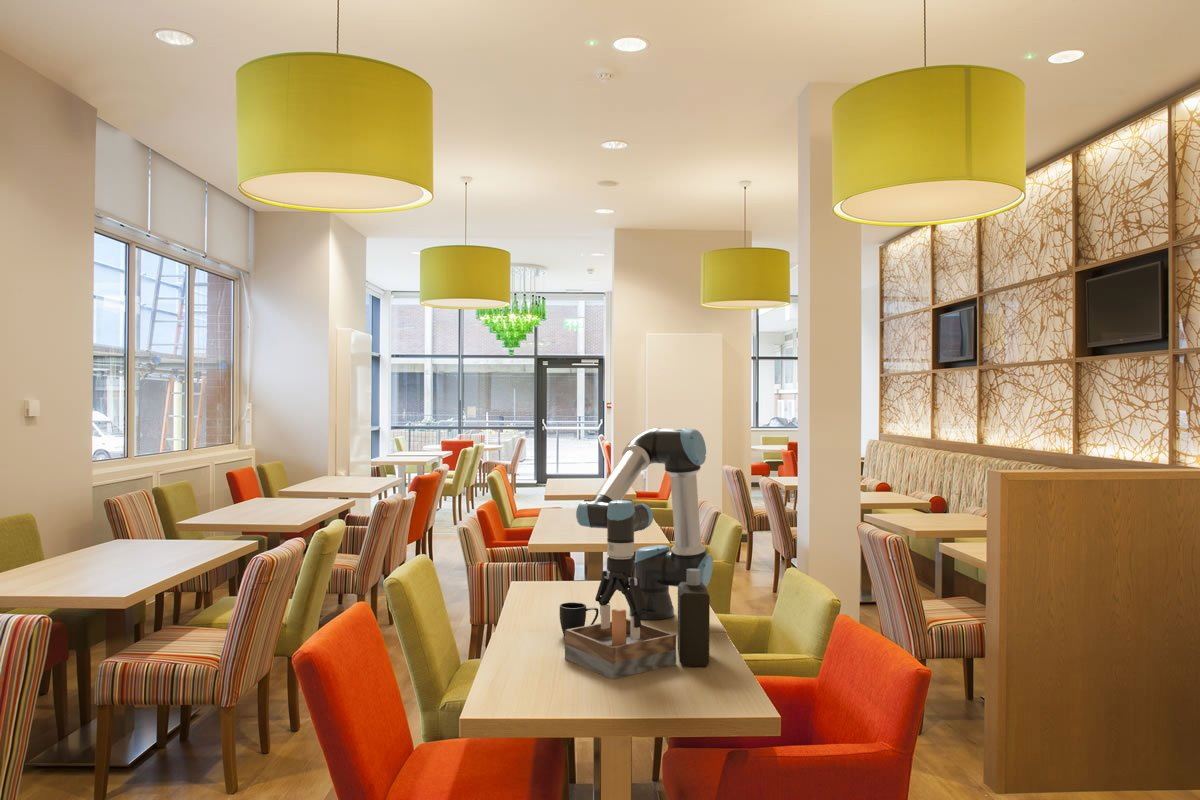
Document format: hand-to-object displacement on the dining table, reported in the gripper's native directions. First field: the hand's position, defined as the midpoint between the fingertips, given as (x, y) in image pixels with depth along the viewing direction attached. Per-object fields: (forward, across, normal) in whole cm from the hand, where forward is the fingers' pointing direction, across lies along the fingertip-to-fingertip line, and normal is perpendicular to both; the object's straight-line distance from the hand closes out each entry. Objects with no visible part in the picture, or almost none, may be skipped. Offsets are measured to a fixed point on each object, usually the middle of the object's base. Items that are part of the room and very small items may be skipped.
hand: (619, 633), depth 229 cm
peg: (+8, 0, 0) cm, 8 cm away
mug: (+8, -27, +5) cm, 29 cm away
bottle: (+8, +10, +18) cm, 22 cm away
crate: (+8, 0, 0) cm, 8 cm away
